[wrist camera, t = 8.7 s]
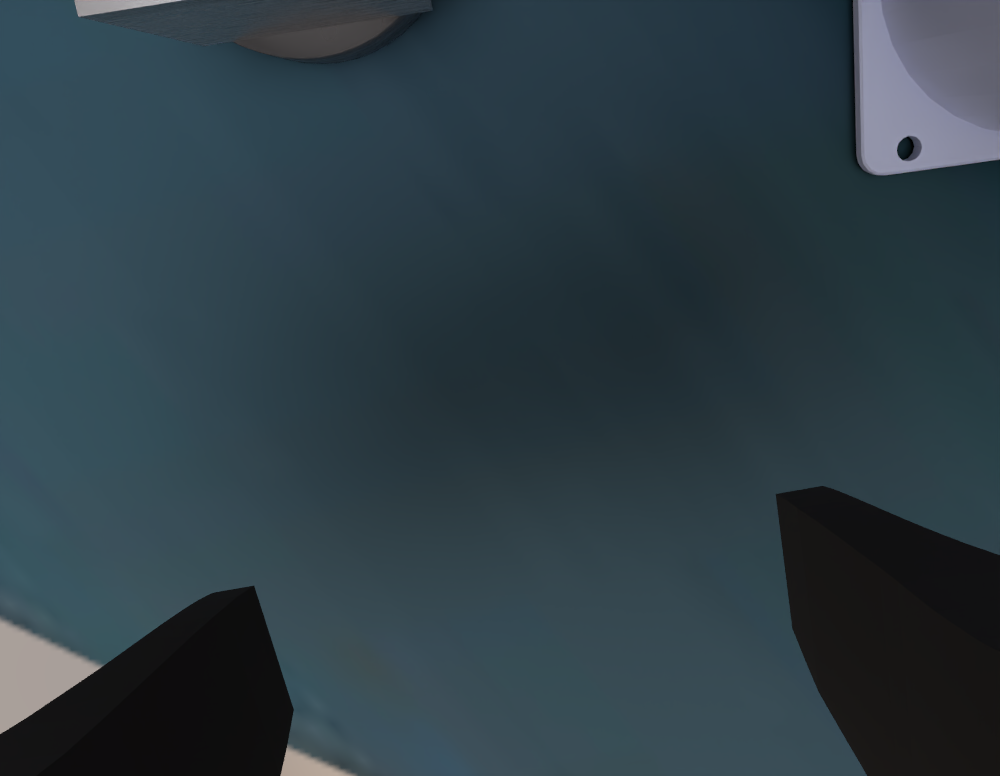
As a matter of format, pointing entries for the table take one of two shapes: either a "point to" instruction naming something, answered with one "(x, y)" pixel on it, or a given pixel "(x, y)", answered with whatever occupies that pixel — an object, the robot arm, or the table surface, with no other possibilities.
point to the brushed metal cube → (239, 16)
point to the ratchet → (333, 40)
